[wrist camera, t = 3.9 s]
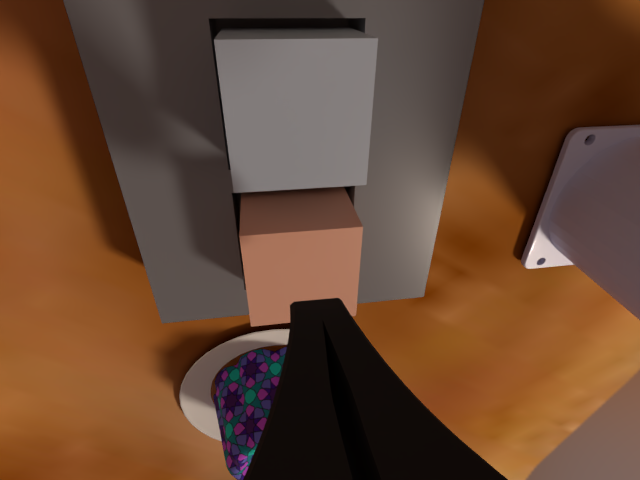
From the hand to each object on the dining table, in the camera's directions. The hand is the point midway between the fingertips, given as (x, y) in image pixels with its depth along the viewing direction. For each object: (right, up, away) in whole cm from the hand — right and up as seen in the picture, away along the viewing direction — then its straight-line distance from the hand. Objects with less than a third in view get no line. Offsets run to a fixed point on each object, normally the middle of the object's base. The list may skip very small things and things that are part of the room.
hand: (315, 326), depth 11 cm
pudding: (-3, -7, +15) cm, 17 cm away
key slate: (-1, +7, +2) cm, 8 cm away
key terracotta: (-1, +3, +5) cm, 6 cm away
